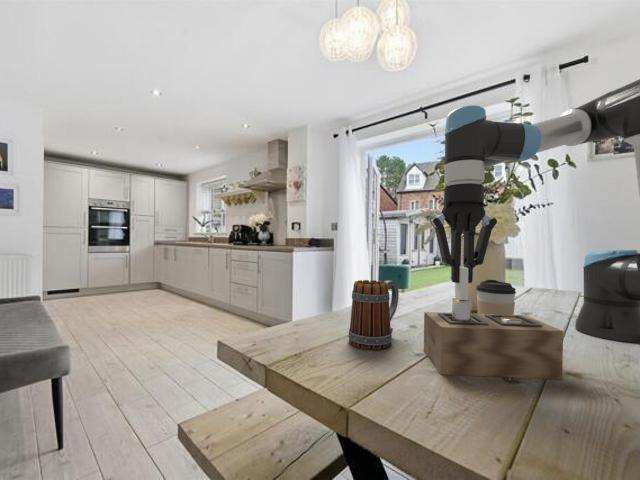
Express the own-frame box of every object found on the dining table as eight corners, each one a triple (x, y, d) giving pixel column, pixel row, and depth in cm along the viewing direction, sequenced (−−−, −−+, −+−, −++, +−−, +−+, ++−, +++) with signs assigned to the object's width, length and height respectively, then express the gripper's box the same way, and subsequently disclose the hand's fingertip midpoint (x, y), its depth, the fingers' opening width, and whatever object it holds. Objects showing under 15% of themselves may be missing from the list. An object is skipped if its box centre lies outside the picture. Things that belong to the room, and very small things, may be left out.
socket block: (523, 355, 69) (524, 313, 69) (562, 379, 57) (563, 328, 57) (423, 351, 70) (424, 310, 70) (440, 374, 58) (441, 325, 58)
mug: (372, 354, 68) (373, 287, 68) (339, 341, 76) (340, 281, 76) (412, 340, 78) (413, 281, 78) (380, 330, 86) (380, 276, 86)
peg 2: (514, 356, 65) (515, 316, 65) (525, 363, 61) (525, 321, 61) (497, 356, 65) (497, 316, 65) (506, 363, 62) (507, 320, 62)
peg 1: (466, 337, 66) (467, 298, 66) (473, 343, 62) (474, 301, 62) (449, 337, 66) (449, 297, 66) (455, 343, 62) (456, 301, 62)
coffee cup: (521, 346, 75) (522, 284, 75) (481, 343, 76) (482, 283, 76) (506, 334, 84) (507, 279, 83) (471, 332, 85) (471, 278, 85)
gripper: (487, 188, 67) (485, 296, 67) (426, 187, 68) (424, 294, 68) (506, 182, 60) (503, 303, 60) (437, 181, 61) (434, 301, 61)
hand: (461, 298), depth 64 cm, fingers closed
